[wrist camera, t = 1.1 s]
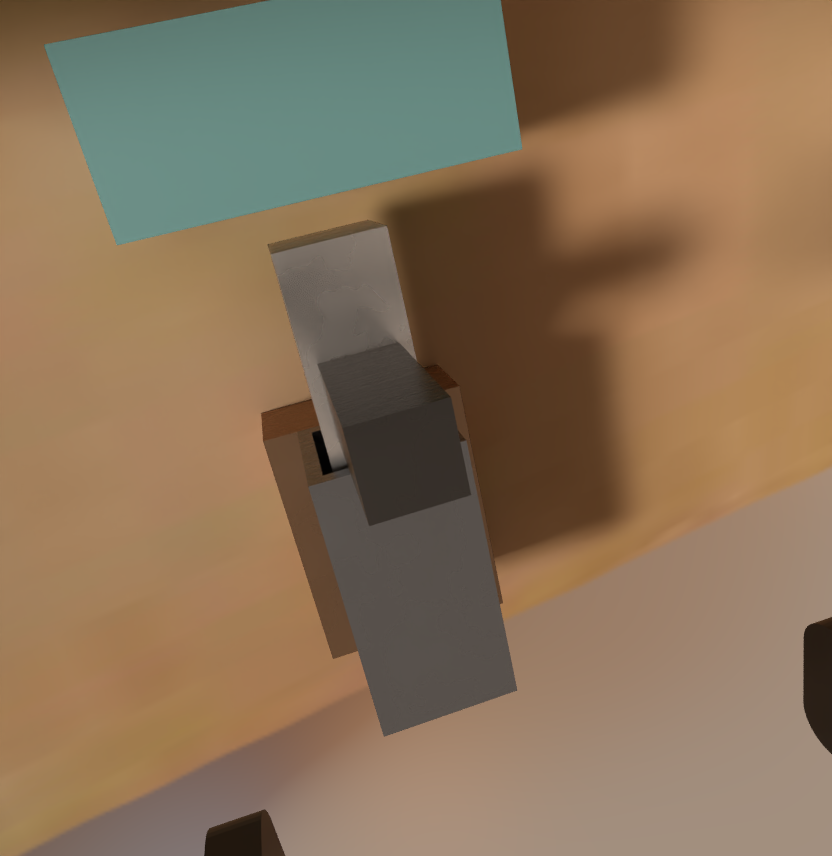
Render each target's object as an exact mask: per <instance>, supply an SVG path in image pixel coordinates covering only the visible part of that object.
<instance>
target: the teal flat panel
mask: <svg viewBox="0 0 832 856" xmlns="http://www.w3.org/2000/svg"><path fill="white" fill-rule="evenodd" d="M44 47H45V50H46V52H47V55H48V58H49V61H50V63H51V66H52V69H53V72H54V74H55V77H56V80H57V83H58V85H59V88H60V91H61V94H62V96H63V99H64V102H65V104H66V107H67V110H68V113H69V115H70V118H71V121H72V124H73V126H74V129H75V132H76V135H77V137H78V140H79V143H80V146H81V148H82V151H83V154H84V157H85V159H86V162H87V165H88V168H89V170H90V173H91V176H92V178H93V181H94V184H95V187H96V189H97V192H98V195H99V198H100V200H101V203H102V206H103V209H104V211H105V214H106V217H107V220H108V222H109V225H110V228H111V231H112V233H113V236H114V239H115V241H116V244H117V245H120V244H125V243H129V242H133V241H137V240H141V239H146V238H150V237H154V236H158V235H163V234H167V233H171V232H175V231H179V230H184V229H188V228H192V227H196V226H200V225H205V224H209V223H213V222H217V221H222V220H226V219H230V218H234V217H238V216H243V215H247V214H251V213H255V212H260V211H264V210H268V209H272V208H276V207H281V206H285V205H289V204H293V203H297V202H302V201H306V200H310V199H314V198H319V197H323V196H327V195H331V194H335V193H340V192H344V191H348V190H352V189H356V188H361V187H365V186H369V185H373V184H378V183H382V182H386V181H390V180H394V179H399V178H403V177H407V176H411V175H416V174H420V173H424V172H428V171H432V170H437V169H441V168H445V167H449V166H453V165H458V164H462V163H466V162H470V161H475V160H479V159H483V158H487V157H491V156H496V155H500V154H504V153H508V152H513V151H517V150H521V149H522V143H521V136H520V129H519V123H518V116H517V109H516V102H515V95H514V88H513V81H512V74H511V68H510V61H509V54H508V47H507V40H506V33H505V26H504V20H503V13H502V6H501V0H269V1H263V2H258V3H253V4H248V5H243V6H238V7H233V8H228V9H223V10H218V11H213V12H207V13H202V14H197V15H192V16H187V17H182V18H177V19H172V20H167V21H162V22H156V23H151V24H146V25H141V26H136V27H131V28H126V29H121V30H116V31H111V32H106V33H100V34H95V35H90V36H85V37H80V38H75V39H70V40H65V41H60V42H55V43H50V44H44Z"/></svg>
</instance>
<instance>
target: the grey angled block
mask: <svg viewBox="0 0 832 856" xmlns="http://www.w3.org/2000/svg"><path fill="white" fill-rule="evenodd" d="M268 248H269V251H270V255H271V258H272V262H273V265H274V269H275V272H276V276H277V279H278V283H279V286H280V290H281V293H282V297H283V300H284V304H285V307H286V311H287V314H288V318H289V321H290V325H291V328H292V332H293V335H294V339H295V342H296V346H297V349H298V353H299V356H300V360H301V363H302V367H303V370H304V374H305V377H306V381H307V384H308V388H309V391H310V395H311V398H312V402H313V405H314V409H315V412H316V416H317V419H318V423H319V426H320V430H321V433H322V437H323V440H324V444H325V447H326V450H327V454H328V457H329V461H330V464H331V468H332V471H333V472H337V471H340V470H344V469H347V468H348V469H349V471H350V474H351V477H352V480H353V483H354V485H355V488H356V491H357V494H358V497H359V499H360V502H361V505H362V508H363V510H364V513H365V516H366V519H367V522H368V524H369V526H372V525H375V524H378V523H382V522H385V521H388V520H391V519H395V518H398V517H401V516H405V515H408V514H411V513H414V512H418V511H421V510H424V509H427V508H431V507H434V506H437V505H441V504H444V503H447V502H450V501H454V500H457V499H460V498H464V497H467V496H470V495H471V491H470V486H469V482H468V477H467V472H466V467H465V462H464V457H463V453H462V448H461V443H460V438H459V433H458V428H457V424H456V419H455V414H454V409H453V404H452V399H451V397H450V396H449V394H448V393H447V392H446V391H445V390H444V389H443V388H442V387H441V386H440V385H439V384H438V383H437V382H436V381H435V380H434V379H433V378H432V377H431V376H430V375H429V373H428V372H427V371H426V370H425V369H424V368H423V367H422V366H421V365H420V364H419V363H418V362H417V359H416V355H415V350H414V346H413V341H412V337H411V332H410V328H409V323H408V319H407V314H406V310H405V305H404V301H403V296H402V292H401V287H400V283H399V278H398V274H397V269H396V265H395V260H394V256H393V251H392V247H391V242H390V238H389V233H388V229H387V226H386V225H383V224H380V223H377V222H373V221H370V220H365V221H361V222H357V223H353V224H349V225H345V226H341V227H336V228H332V229H328V230H324V231H320V232H316V233H312V234H308V235H304V236H300V237H295V238H291V239H287V240H283V241H279V242H275V243H271V244H268Z"/></svg>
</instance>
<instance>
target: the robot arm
mask: <svg viewBox="0 0 832 856" xmlns="http://www.w3.org/2000/svg"><path fill="white" fill-rule="evenodd" d="M803 697H804V698H803V699H804V700H803V701H804V709H805V713H806V717H807V719H808V721H809V724H810V726H811V728H812V729H813V731H814V733H815V735H816V736H817V738H818V739H819V740H820V742H821V743H822V744H823V746H824V747H825V748H826V749H827V750H828V751H829V752H830V753H831V754H832V617H831V618H828V619H825V620H822V621H819V622H816V623H813V624H810V625H809V626H807V628H806V629H805V632H804V696H803ZM204 856H285V854H284V851H283V849H282V846H281V844H280V841H279V839H278V836H277V833H276V831H275V828H274V826H273V823H272V820H271V818H270V816H269V814H268V812H267V811H266V810H262V811H259V812H256V813H253V814H250V815H247V816H244V817H241V818H238V819H235V820H232V821H229V822H227V823H224V824H221V825H218V826H215V827H212V828H209V830H208V832H207V835H206V842H205V855H204Z"/></svg>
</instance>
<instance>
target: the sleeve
mask: <svg viewBox="0 0 832 856" xmlns="http://www.w3.org/2000/svg"><path fill="white" fill-rule="evenodd" d="M424 369H425V370H426V371H427V372H428V373H429V375H430V376H431V377H432V378H433V379H434V380H435V381H436V382H437V383H438V384H439V385H440V386H441V387H442V388H443V389H444V390H445V391H446V392H447V393H448V394H449V396H450V397H451V399H452V404H453V409H454V414H455V419H456V424H457V428H458V433H459V438H460V443H461V448H462V453H463V457H464V462H465V467H466V472H467V477H468V482H469V486H470V491H471V495H470V496H467V497H464V498H460V499H457V500H454V501H450V502H447V503H444V504H441V505H437V506H434V507H431V508H427V509H424V510H421V511H418V512H414V513H411V514H408V515H405V516H401V517H398V518H395V519H391V520H388V521H385V522H382V523H378V524H375V525H372V526H369V524H368V522H367V519H366V516H365V513H364V510H363V508H362V505H361V502H360V499H359V497H358V494H357V491H356V488H355V485H354V483H353V480H352V477H351V474H350V471H349V469H348V468H347V469H344V470H340V471H337V472H333V471H332V468H331V464H330V461H329V457H328V454H327V450H326V447H325V444H324V440H323V437H322V433H321V430H320V426H319V423H318V419H317V416H316V412H315V409H314V405H313V402H312V399H311V400H308V401H304V402H301V403H297V404H293V405H290V406H286V407H282V408H279V409H275V410H272V411H268V412H264V413H261V416H262V431H263V442H264V445H265V448H266V452H267V455H268V458H269V461H270V464H271V467H272V470H273V473H274V476H275V480H276V483H277V486H278V489H279V492H280V495H281V498H282V501H283V504H284V508H285V511H286V514H287V517H288V520H289V523H290V526H291V529H292V532H293V536H294V539H295V542H296V545H297V548H298V551H299V554H300V557H301V560H302V564H303V567H304V570H305V573H306V576H307V579H308V582H309V585H310V588H311V592H312V595H313V598H314V601H315V604H316V607H317V610H318V613H319V616H320V620H321V623H322V626H323V629H324V632H325V635H326V638H327V641H328V644H329V648H330V651H331V654H332V657H333V659H334V658H337V657H340V656H343V655H346V654H349V653H353V652H356V651H358V652H359V656H360V659H361V662H362V666H363V669H364V672H365V676H366V679H367V682H368V685H369V689H370V692H371V695H372V699H373V702H374V705H375V709H376V712H377V715H378V718H379V721H380V725H381V728H382V731H383V735H384V736H387V735H390V734H393V733H396V732H399V731H402V730H404V729H408V728H410V727H413V726H416V725H419V724H422V723H425V722H427V721H430V720H433V719H436V718H439V717H442V716H445V715H448V714H451V713H453V712H456V711H459V710H462V709H465V708H468V707H470V706H474V705H476V704H479V703H482V702H485V701H488V700H491V699H494V698H497V697H499V696H502V695H505V694H508V693H511V692H513V691H517V687H516V682H515V678H514V672H513V668H512V662H511V657H510V652H509V647H508V643H507V638H506V633H505V628H504V623H503V618H502V613H501V608H500V604H501V603H503V601H502V596H501V591H500V586H499V581H498V576H497V571H496V566H495V561H494V556H493V551H492V546H491V541H490V536H489V531H488V526H487V521H486V516H485V511H484V506H483V501H482V496H481V491H480V486H479V481H478V476H477V471H476V466H475V461H474V456H473V451H472V446H471V441H470V437H469V432H468V427H467V422H466V417H465V412H464V407H463V402H462V397H461V392H460V387H459V385H458V384H457V383H456V382H455V381H454V380H453V379H452V378H450V377H449V376H448V375H447V374H446V373H445V372H444V371H443V370H442V369H441V368H440V367H439V366H438V365H434V366H431V367H427V368H424Z"/></svg>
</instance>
